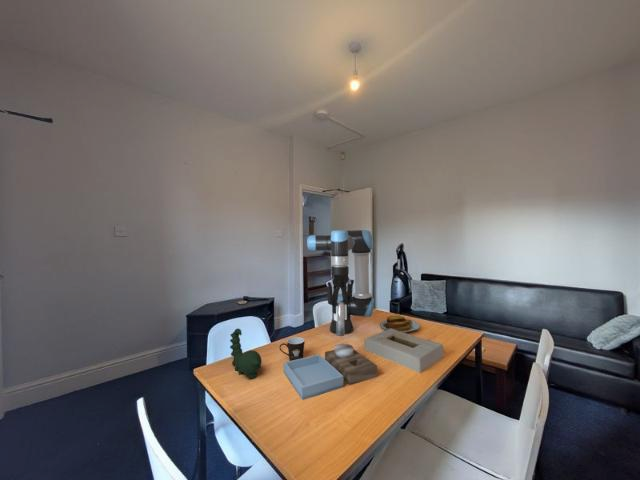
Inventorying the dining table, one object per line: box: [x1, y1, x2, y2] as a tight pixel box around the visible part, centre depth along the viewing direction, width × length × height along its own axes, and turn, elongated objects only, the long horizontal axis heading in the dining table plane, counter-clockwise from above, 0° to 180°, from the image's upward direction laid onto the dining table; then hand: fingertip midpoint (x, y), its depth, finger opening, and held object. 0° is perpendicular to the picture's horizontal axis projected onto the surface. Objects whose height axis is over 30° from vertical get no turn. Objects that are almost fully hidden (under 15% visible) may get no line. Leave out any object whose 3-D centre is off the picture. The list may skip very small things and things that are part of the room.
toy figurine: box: [229, 328, 262, 380], centre depth 118 cm, size 9×19×25 cm
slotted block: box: [364, 328, 444, 374], centre depth 135 cm, size 23×8×32 cm
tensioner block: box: [324, 343, 378, 386], centre depth 120 cm, size 22×14×8 cm, turn 26°
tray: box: [283, 354, 344, 401], centre depth 111 cm, size 22×18×4 cm
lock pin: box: [335, 302, 345, 337], centre depth 113 cm, size 4×4×14 cm
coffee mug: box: [279, 336, 306, 361], centre depth 129 cm, size 12×9×10 cm
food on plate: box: [380, 315, 421, 334], centre depth 173 cm, size 25×25×7 cm
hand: (340, 319), depth 113 cm, fingers closed on lock pin, 3 cm apart
